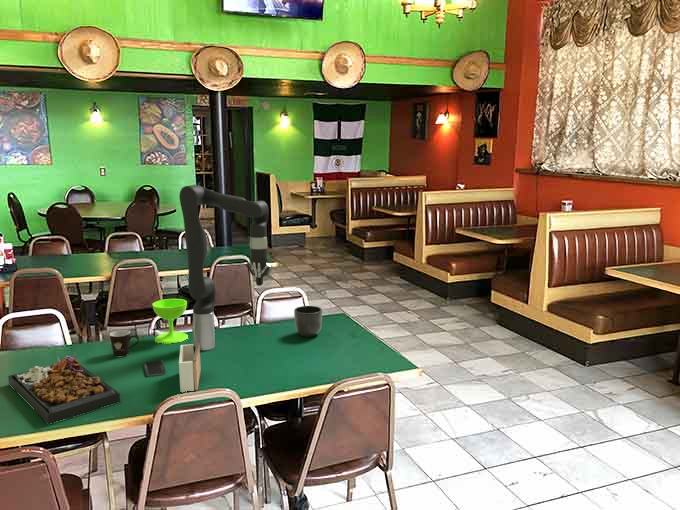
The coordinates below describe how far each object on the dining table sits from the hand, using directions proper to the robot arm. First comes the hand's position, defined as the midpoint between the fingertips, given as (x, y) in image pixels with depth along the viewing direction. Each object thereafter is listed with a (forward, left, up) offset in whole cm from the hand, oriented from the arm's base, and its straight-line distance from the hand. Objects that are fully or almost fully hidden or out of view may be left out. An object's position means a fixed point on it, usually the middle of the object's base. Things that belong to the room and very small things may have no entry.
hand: (259, 285), depth 247 cm
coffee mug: (-54, -29, -32) cm, 69 cm away
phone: (-30, -35, -33) cm, 56 cm away
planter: (+6, +33, -32) cm, 46 cm away
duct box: (-9, -39, -32) cm, 51 cm away
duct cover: (-6, -36, -32) cm, 48 cm away
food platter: (-44, -68, -33) cm, 88 cm away
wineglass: (-50, -3, -32) cm, 60 cm away
